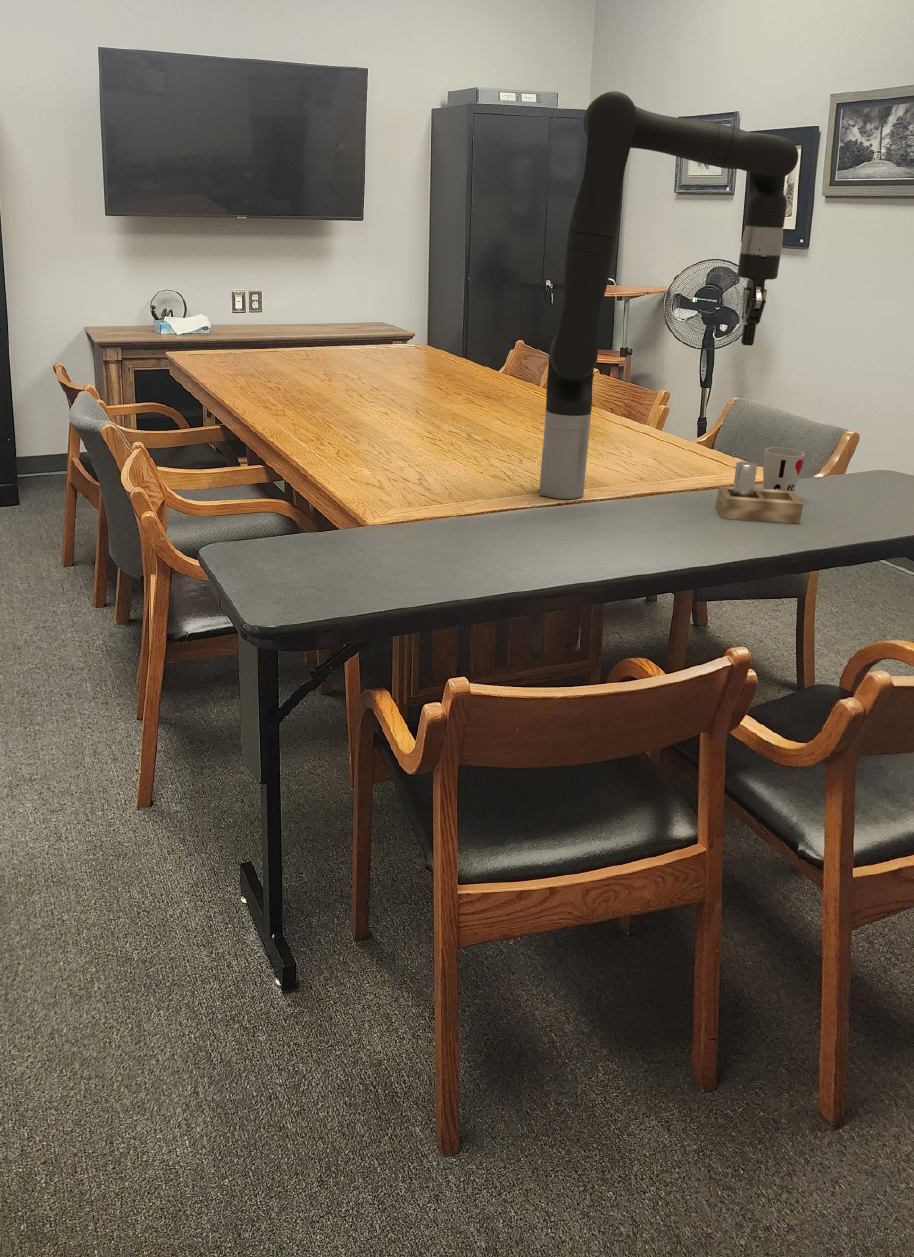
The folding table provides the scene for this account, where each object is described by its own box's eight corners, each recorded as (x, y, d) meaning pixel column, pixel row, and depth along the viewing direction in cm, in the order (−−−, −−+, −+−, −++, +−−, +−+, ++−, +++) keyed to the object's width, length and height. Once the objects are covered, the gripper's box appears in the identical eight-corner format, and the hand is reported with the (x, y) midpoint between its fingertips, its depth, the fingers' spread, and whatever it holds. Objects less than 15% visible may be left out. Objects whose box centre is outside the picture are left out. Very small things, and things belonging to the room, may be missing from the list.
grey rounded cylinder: (731, 514, 212) (737, 465, 208) (729, 509, 216) (735, 461, 212) (751, 516, 212) (758, 467, 208) (749, 510, 215) (755, 462, 212)
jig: (722, 518, 210) (725, 498, 208) (716, 504, 219) (718, 485, 217) (799, 523, 208) (803, 504, 207) (789, 509, 218) (793, 490, 216)
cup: (770, 503, 221) (778, 456, 218) (750, 493, 229) (757, 447, 225) (804, 502, 223) (812, 455, 220) (783, 492, 231) (791, 446, 227)
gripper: (735, 249, 209) (723, 339, 215) (745, 252, 197) (732, 348, 203) (774, 251, 208) (760, 341, 215) (786, 255, 196) (772, 350, 203)
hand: (747, 344), depth 209 cm, fingers closed
